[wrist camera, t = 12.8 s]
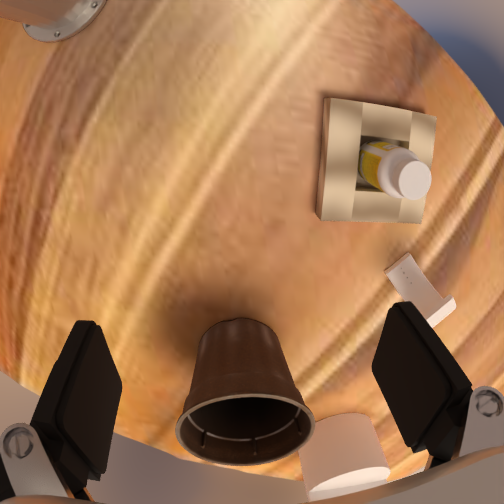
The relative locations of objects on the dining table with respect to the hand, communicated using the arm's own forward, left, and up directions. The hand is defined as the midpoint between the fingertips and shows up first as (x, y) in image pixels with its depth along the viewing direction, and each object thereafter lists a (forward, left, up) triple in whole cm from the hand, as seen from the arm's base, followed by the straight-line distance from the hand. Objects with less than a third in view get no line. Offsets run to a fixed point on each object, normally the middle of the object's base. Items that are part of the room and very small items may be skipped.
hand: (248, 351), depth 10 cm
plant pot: (+26, +1, -29) cm, 39 cm away
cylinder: (+55, +22, -29) cm, 66 cm away
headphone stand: (+14, +25, -29) cm, 41 cm away
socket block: (-2, +17, -29) cm, 34 cm away
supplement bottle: (-2, +17, -29) cm, 34 cm away
